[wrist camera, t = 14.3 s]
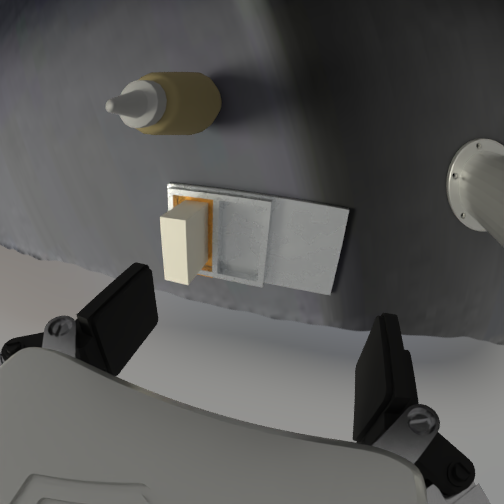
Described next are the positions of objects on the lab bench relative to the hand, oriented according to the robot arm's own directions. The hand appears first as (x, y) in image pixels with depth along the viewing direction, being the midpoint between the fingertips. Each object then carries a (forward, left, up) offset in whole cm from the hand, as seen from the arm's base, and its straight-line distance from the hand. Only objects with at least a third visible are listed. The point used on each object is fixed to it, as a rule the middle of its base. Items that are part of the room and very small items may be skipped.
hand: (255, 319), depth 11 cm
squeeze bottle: (+15, -8, -28) cm, 33 cm away
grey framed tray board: (+7, +10, -28) cm, 31 cm away
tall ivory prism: (+15, +10, -27) cm, 33 cm away
